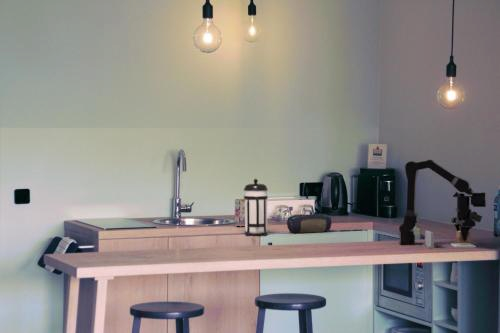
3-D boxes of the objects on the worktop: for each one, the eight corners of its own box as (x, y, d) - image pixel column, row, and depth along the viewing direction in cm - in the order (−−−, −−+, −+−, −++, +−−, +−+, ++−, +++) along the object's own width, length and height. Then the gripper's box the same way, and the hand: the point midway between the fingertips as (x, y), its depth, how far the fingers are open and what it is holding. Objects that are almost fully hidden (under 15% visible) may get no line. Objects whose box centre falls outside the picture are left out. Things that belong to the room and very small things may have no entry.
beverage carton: (405, 239, 411) (404, 226, 411) (399, 235, 431) (399, 222, 430) (420, 239, 411) (420, 226, 411) (414, 235, 430) (414, 222, 430)
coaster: (456, 247, 375) (456, 245, 375) (451, 245, 384) (451, 243, 384) (475, 247, 375) (475, 245, 375) (469, 245, 384) (469, 243, 384)
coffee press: (234, 235, 432) (234, 179, 431) (256, 232, 443) (255, 178, 443) (257, 237, 420) (257, 179, 419) (279, 235, 431) (278, 178, 430)
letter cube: (459, 242, 377) (459, 231, 377) (456, 241, 382) (456, 230, 382) (470, 242, 377) (470, 231, 377) (466, 241, 382) (466, 230, 382)
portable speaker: (292, 234, 435) (292, 216, 435) (285, 232, 444) (285, 214, 444) (334, 232, 443) (334, 214, 443) (327, 230, 453) (326, 213, 452)
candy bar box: (239, 227, 473) (239, 199, 472) (234, 227, 477) (234, 199, 476) (254, 226, 480) (254, 198, 479) (249, 225, 484) (248, 198, 483)
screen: (429, 248, 373) (429, 233, 373) (423, 245, 384) (423, 230, 384) (435, 248, 374) (435, 232, 373) (429, 245, 385) (429, 230, 384)
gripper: (486, 208, 370) (486, 242, 370) (474, 205, 389) (474, 237, 389) (462, 208, 370) (462, 242, 370) (451, 205, 388) (451, 237, 389)
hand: (463, 239), depth 379 cm, fingers closed on letter cube, 5 cm apart
